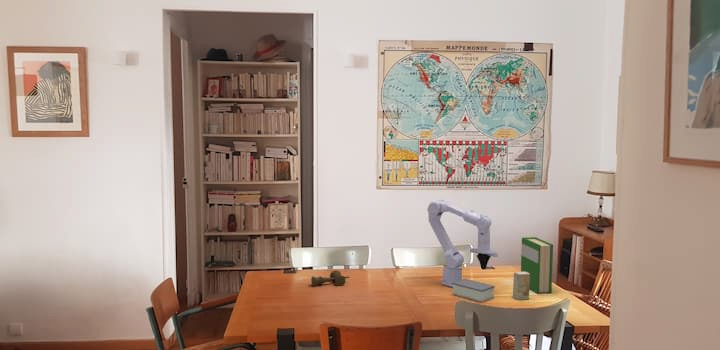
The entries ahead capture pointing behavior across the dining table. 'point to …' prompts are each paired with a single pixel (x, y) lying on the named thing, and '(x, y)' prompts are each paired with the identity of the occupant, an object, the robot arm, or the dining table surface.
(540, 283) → the hardback book
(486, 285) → the lid
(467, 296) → the box
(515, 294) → the skincare box
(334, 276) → the kendama
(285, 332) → the dining table surface
